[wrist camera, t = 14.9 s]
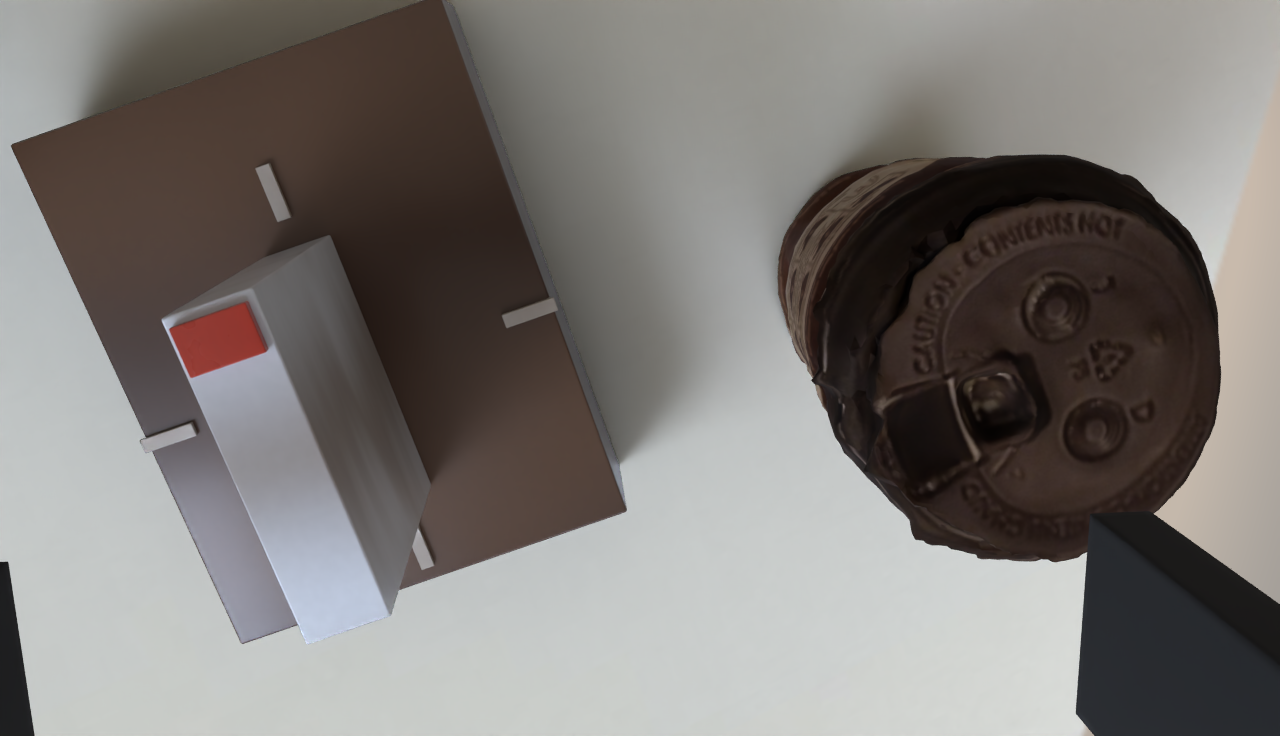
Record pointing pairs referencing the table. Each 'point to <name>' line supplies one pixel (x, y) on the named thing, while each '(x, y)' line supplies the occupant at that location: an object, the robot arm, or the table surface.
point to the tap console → (374, 264)
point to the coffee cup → (1005, 344)
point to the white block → (308, 432)
